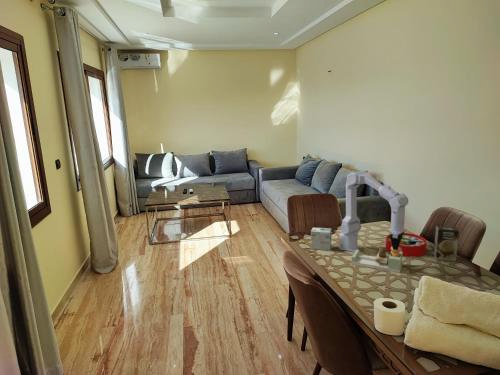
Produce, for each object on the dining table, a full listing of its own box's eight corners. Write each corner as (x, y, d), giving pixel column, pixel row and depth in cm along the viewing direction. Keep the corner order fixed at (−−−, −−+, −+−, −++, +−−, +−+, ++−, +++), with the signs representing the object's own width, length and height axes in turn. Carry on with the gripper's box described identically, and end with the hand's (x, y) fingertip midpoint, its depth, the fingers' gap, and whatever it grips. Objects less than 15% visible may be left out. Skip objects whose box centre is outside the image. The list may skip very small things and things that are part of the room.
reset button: (389, 260, 163) (390, 249, 161) (390, 256, 167) (391, 245, 165) (400, 262, 160) (401, 250, 159) (401, 258, 164) (402, 247, 163)
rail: (351, 264, 170) (351, 252, 168) (356, 256, 178) (356, 244, 177) (399, 272, 159) (400, 260, 158) (401, 264, 168) (402, 251, 166)
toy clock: (382, 232, 195) (420, 233, 191) (382, 241, 196) (420, 242, 192) (389, 245, 176) (432, 247, 172) (389, 256, 177) (431, 258, 173)
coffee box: (435, 259, 171) (438, 229, 167) (433, 254, 176) (435, 225, 173) (456, 261, 168) (459, 230, 164) (453, 256, 174) (456, 226, 170)
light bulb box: (331, 246, 193) (331, 228, 190) (330, 250, 186) (330, 232, 184) (312, 244, 196) (312, 226, 194) (310, 249, 190) (310, 230, 188)
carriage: (375, 263, 165) (375, 250, 163) (378, 257, 172) (378, 244, 170) (386, 265, 162) (387, 251, 161) (388, 259, 169) (389, 245, 168)
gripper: (405, 226, 151) (403, 254, 154) (408, 216, 163) (406, 243, 166) (388, 224, 154) (387, 251, 158) (392, 214, 167) (391, 240, 170)
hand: (396, 247), depth 162 cm, fingers open, 5 cm apart
